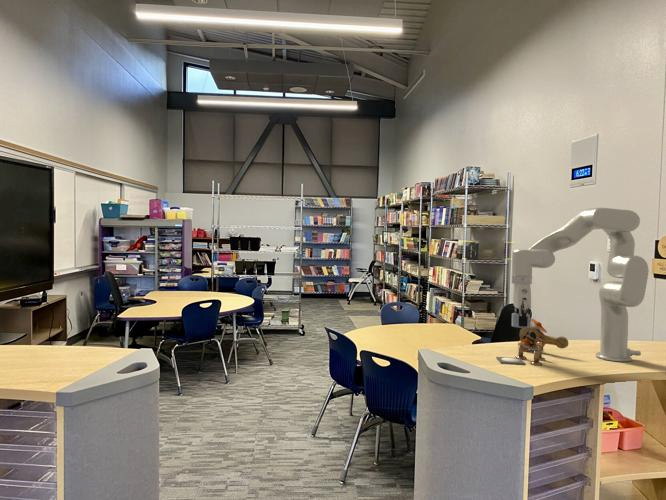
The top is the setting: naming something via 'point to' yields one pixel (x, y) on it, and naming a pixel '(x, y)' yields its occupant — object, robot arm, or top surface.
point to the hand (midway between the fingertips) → (520, 324)
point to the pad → (510, 360)
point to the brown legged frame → (536, 352)
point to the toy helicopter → (540, 337)
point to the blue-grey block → (516, 320)
